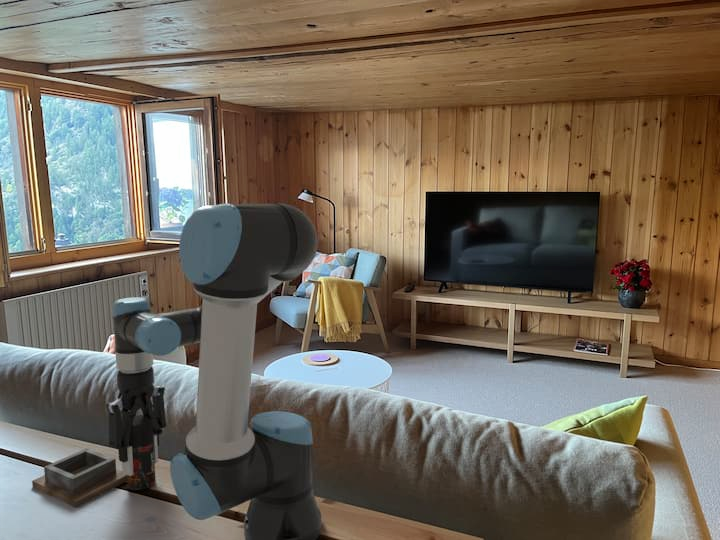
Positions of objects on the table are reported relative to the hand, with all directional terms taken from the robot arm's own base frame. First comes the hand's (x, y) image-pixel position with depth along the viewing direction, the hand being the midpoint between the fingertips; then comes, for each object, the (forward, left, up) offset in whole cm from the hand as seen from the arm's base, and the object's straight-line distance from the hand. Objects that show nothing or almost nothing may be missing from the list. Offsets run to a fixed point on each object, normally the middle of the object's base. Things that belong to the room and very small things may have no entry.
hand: (140, 467), depth 123 cm
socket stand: (+12, +6, -4) cm, 14 cm away
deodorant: (0, 0, -4) cm, 4 cm away
